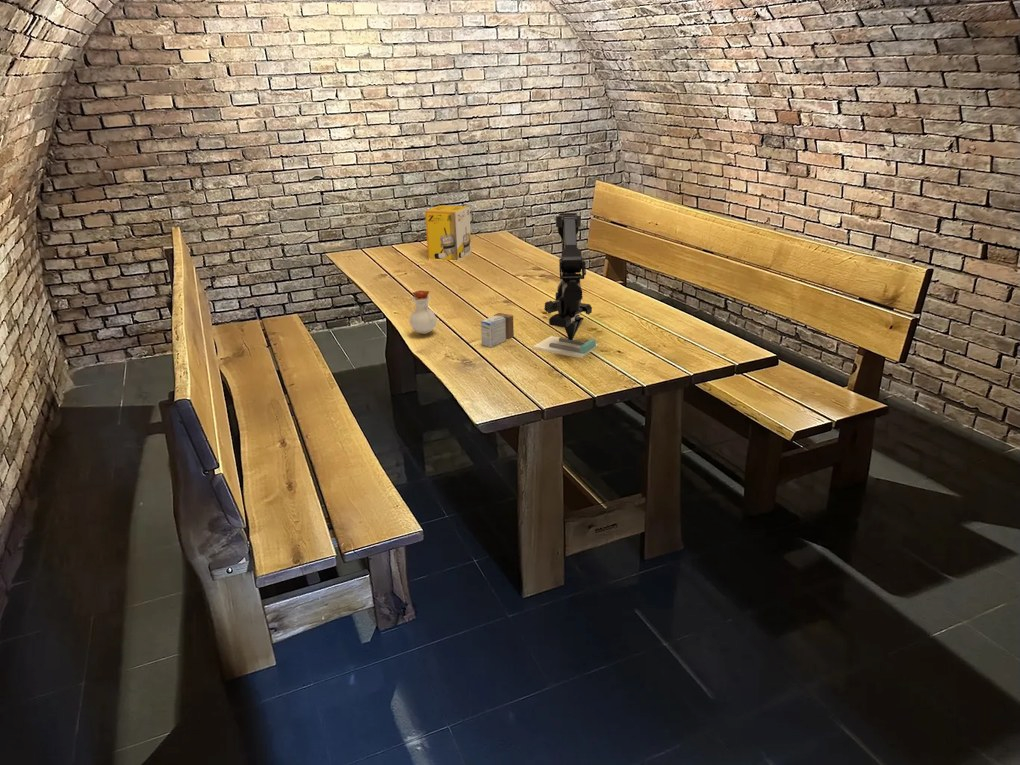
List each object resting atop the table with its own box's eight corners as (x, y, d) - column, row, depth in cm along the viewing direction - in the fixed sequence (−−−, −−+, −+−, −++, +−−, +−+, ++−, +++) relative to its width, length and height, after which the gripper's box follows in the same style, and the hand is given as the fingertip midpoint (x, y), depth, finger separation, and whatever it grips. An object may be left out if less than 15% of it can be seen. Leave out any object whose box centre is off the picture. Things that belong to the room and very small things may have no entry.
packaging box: (458, 264, 355) (455, 212, 345) (428, 261, 360) (425, 210, 350) (471, 256, 368) (469, 206, 359) (442, 254, 374) (439, 205, 364)
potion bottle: (439, 336, 256) (437, 294, 251) (412, 339, 254) (408, 297, 248) (435, 328, 265) (432, 288, 259) (408, 331, 262) (405, 290, 257)
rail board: (551, 339, 251) (551, 329, 249) (598, 347, 242) (598, 337, 240) (533, 349, 242) (533, 339, 240) (581, 359, 232) (581, 348, 231)
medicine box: (496, 338, 253) (495, 315, 249) (506, 341, 250) (505, 317, 247) (481, 345, 247) (480, 320, 244) (491, 347, 244) (490, 323, 241)
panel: (498, 312, 254) (513, 315, 251) (499, 334, 257) (513, 337, 254) (493, 315, 251) (508, 317, 248) (494, 337, 254) (509, 339, 251)
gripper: (563, 283, 244) (563, 328, 251) (534, 297, 230) (534, 344, 236) (593, 288, 239) (592, 333, 245) (565, 302, 224) (565, 349, 231)
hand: (570, 339), depth 239 cm, fingers closed
